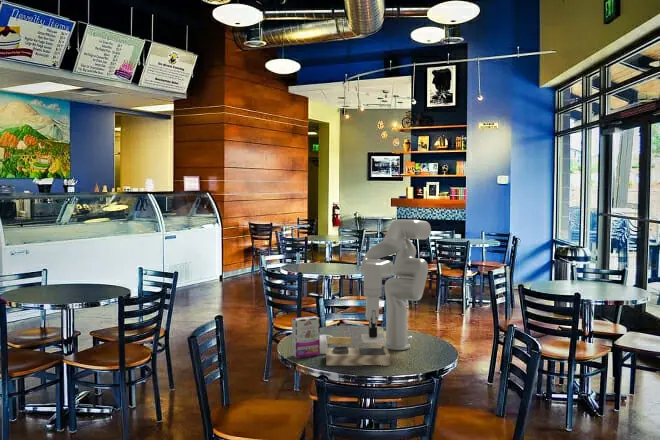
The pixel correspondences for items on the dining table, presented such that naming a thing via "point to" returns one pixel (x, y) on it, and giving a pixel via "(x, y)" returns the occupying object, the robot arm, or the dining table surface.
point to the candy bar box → (305, 337)
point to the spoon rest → (324, 343)
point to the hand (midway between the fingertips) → (372, 335)
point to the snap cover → (372, 338)
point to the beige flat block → (357, 356)
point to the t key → (339, 340)
